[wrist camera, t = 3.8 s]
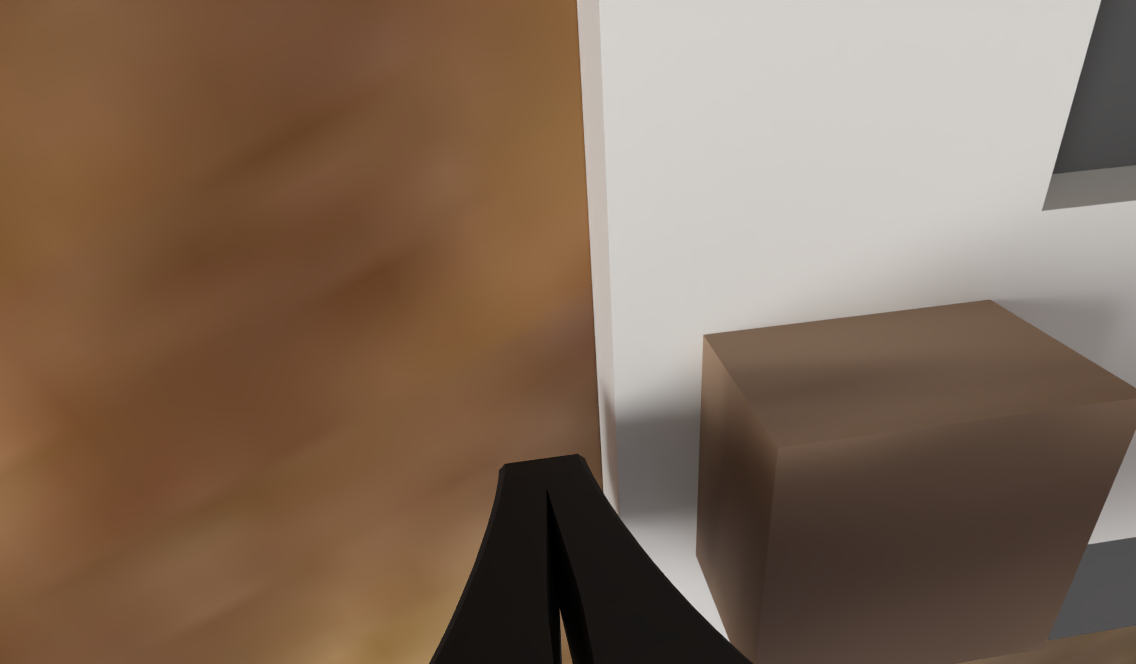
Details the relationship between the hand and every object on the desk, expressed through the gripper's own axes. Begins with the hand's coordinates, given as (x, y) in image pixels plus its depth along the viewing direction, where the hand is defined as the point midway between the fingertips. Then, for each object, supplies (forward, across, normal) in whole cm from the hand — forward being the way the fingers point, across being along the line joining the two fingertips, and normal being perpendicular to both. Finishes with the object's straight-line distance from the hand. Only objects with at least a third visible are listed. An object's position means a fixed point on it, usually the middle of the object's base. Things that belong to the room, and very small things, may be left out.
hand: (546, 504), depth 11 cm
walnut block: (+1, -5, 0) cm, 5 cm away
